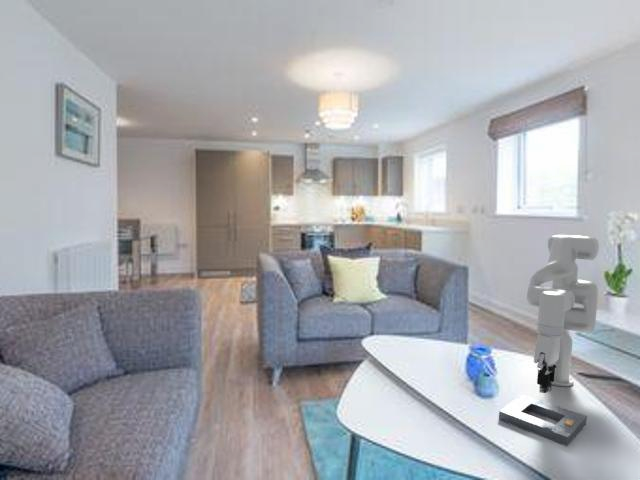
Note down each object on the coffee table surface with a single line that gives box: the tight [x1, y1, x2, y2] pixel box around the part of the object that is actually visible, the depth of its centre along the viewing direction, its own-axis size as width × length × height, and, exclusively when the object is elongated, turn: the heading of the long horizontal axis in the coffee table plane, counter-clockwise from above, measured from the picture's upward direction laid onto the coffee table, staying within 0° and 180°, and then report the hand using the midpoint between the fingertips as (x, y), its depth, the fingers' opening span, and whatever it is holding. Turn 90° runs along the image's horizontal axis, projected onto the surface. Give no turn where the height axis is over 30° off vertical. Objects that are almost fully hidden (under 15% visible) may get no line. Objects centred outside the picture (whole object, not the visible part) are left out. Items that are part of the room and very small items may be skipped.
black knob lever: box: [538, 363, 556, 394], centre depth 144 cm, size 7×5×10 cm
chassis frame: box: [498, 393, 588, 447], centre depth 146 cm, size 19×21×3 cm
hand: (545, 382), depth 145 cm, fingers closed on black knob lever, 4 cm apart
